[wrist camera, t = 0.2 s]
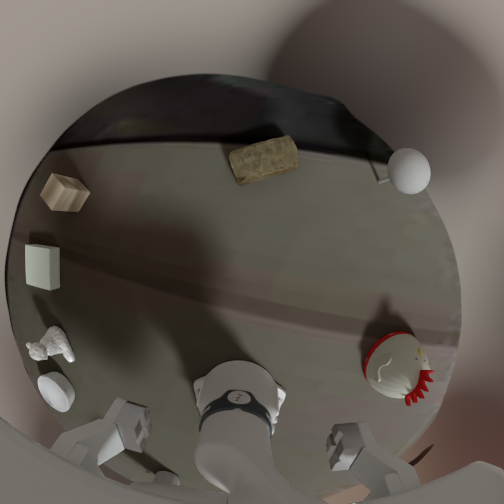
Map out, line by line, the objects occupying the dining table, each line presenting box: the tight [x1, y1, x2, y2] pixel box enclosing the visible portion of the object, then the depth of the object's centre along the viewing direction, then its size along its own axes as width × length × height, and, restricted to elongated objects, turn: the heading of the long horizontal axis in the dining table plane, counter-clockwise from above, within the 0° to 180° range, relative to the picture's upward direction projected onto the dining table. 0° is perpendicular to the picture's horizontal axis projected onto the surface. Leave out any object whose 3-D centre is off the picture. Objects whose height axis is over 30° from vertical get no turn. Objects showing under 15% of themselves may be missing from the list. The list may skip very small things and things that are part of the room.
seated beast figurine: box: [26, 326, 75, 362], centre depth 45 cm, size 10×9×12 cm
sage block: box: [25, 244, 60, 291], centre depth 47 cm, size 9×9×4 cm
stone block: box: [229, 135, 299, 186], centre depth 44 cm, size 6×12×5 cm, turn 108°
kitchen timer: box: [363, 331, 434, 406], centre depth 42 cm, size 14×14×15 cm
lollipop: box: [378, 148, 431, 194], centre depth 39 cm, size 7×7×15 cm
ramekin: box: [38, 372, 75, 412], centre depth 49 cm, size 11×11×5 cm
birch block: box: [40, 173, 90, 212], centre depth 43 cm, size 5×5×9 cm
